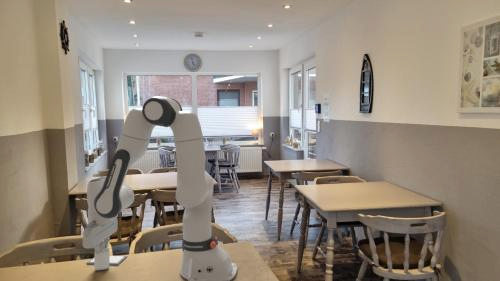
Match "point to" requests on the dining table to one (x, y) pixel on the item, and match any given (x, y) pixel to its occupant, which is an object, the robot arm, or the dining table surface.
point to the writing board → (110, 263)
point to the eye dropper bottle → (101, 258)
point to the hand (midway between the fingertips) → (101, 250)
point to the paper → (113, 259)
